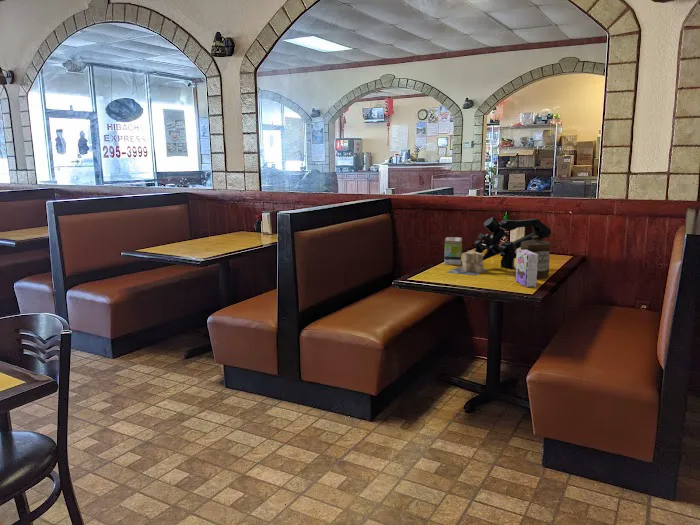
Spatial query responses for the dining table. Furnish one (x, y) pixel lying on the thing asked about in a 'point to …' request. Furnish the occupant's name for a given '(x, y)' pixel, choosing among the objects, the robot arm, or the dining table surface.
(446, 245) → the tea box
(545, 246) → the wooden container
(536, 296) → the dining table surface
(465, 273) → the push board
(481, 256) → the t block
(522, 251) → the candy box
